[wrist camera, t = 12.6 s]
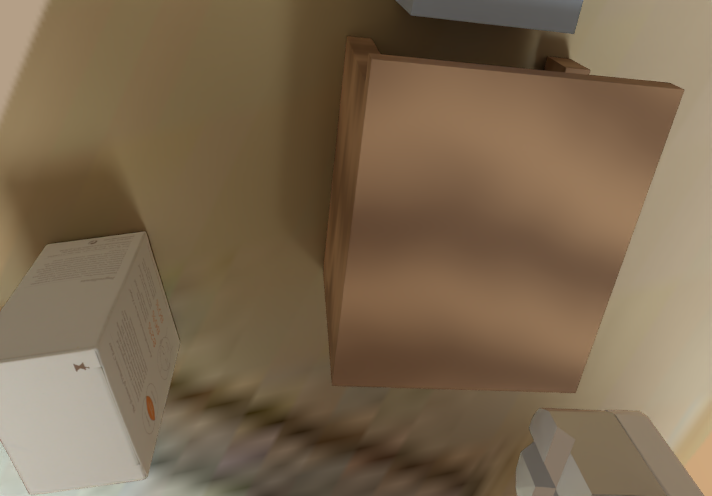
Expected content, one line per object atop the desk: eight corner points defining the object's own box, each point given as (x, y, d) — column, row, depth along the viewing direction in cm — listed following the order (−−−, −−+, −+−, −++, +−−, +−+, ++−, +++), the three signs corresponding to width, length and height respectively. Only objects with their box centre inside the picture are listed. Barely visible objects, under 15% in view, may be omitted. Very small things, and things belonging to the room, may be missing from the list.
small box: (46, 241, 34) (-46, 364, 25) (148, 227, 34) (95, 345, 25) (91, 356, 38) (25, 500, 29) (183, 344, 38) (147, 483, 29)
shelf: (510, 280, 38) (575, 393, 29) (323, 270, 36) (332, 385, 28) (575, 38, 31) (684, 89, 22) (349, 14, 30) (371, 59, 21)
